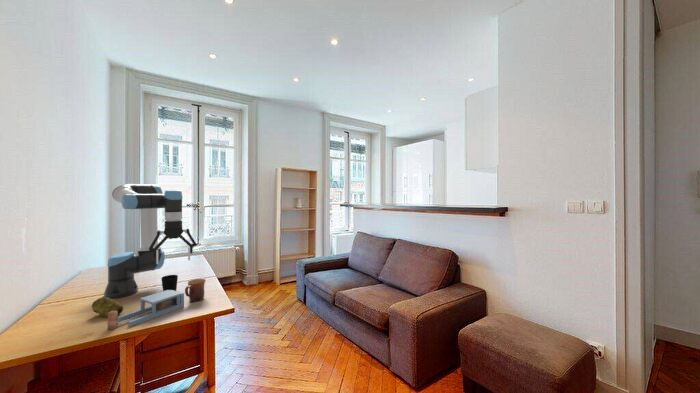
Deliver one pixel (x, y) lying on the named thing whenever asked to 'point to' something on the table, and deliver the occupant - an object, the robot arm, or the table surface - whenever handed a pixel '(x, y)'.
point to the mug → (195, 289)
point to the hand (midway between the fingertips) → (173, 261)
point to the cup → (169, 282)
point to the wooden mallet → (114, 322)
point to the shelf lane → (153, 299)
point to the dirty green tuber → (106, 306)
